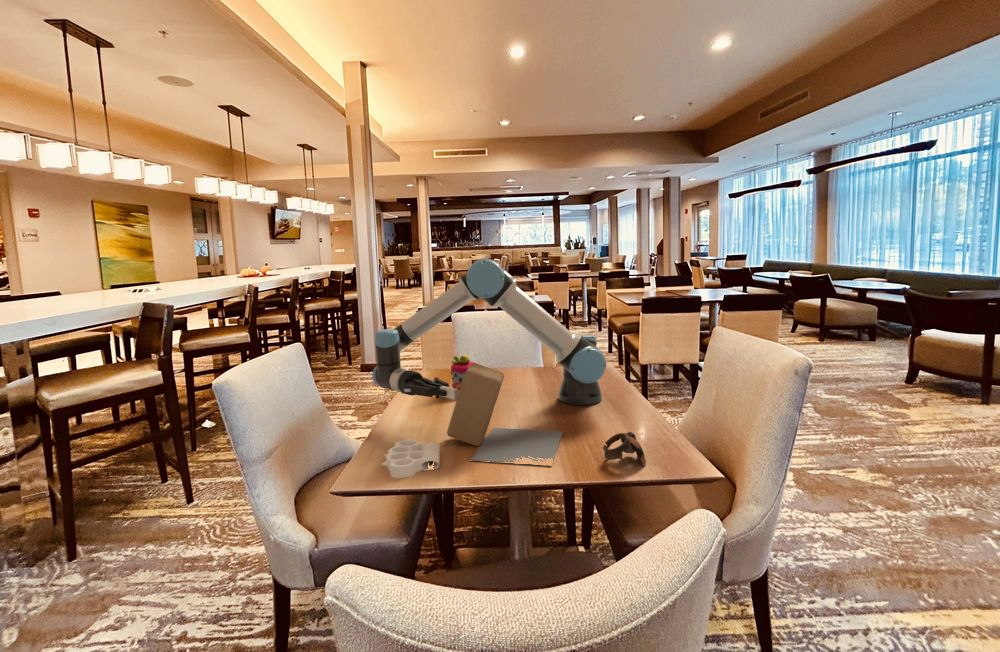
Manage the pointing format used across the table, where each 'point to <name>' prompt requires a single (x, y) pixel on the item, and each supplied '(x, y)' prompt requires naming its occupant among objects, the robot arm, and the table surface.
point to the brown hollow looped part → (624, 447)
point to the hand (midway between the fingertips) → (456, 394)
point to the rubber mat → (518, 445)
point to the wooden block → (475, 404)
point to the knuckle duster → (411, 457)
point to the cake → (459, 370)
